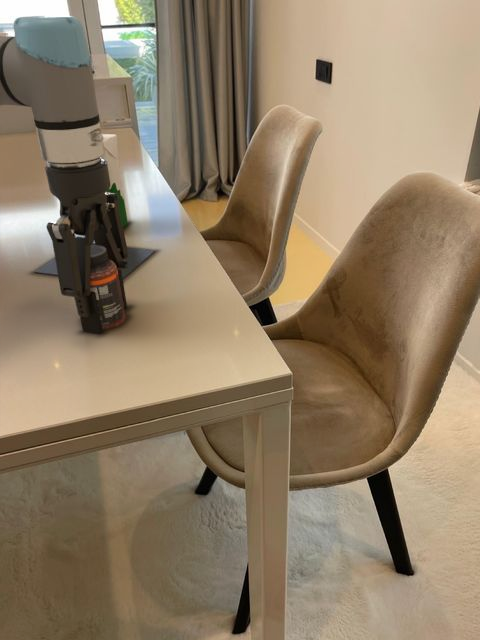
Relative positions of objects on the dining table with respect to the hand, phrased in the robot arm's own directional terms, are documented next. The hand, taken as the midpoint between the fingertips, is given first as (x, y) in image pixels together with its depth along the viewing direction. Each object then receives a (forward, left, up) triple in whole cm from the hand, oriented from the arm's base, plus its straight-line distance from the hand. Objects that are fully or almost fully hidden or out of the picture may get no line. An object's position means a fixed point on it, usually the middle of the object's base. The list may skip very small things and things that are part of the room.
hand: (106, 320), depth 82 cm
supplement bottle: (0, 0, 0) cm, 1 cm away
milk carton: (-19, +33, 0) cm, 38 cm away
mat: (-12, +18, 0) cm, 22 cm away
